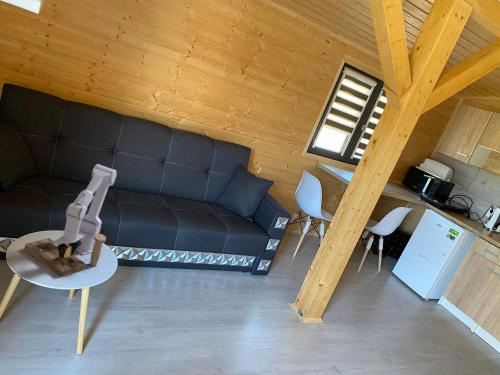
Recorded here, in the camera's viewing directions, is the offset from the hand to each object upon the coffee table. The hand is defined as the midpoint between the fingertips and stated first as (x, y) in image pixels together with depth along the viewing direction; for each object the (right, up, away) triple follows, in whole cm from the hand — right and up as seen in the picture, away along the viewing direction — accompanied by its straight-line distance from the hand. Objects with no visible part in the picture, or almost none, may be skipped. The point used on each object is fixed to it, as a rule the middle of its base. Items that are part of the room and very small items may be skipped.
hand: (65, 255), depth 171 cm
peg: (-2, -4, +1) cm, 5 cm away
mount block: (-7, -2, +4) cm, 8 cm away
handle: (+8, -6, +10) cm, 14 cm away
